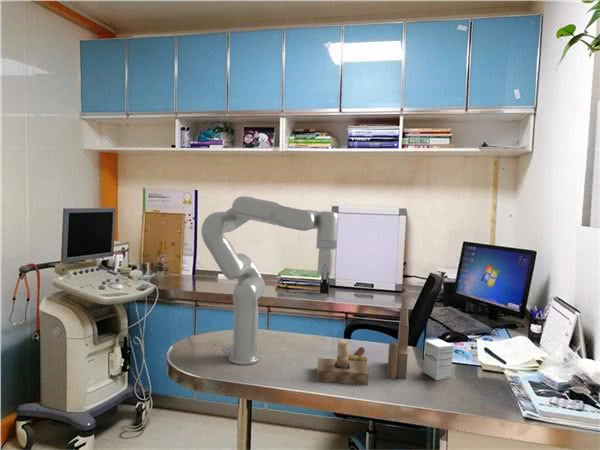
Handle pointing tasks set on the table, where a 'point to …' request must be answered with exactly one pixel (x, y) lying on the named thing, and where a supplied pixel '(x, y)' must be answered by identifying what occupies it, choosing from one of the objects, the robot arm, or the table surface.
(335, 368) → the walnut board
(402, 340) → the wooden toy
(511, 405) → the table surface
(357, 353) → the gavel
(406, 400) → the table surface
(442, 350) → the supplement box
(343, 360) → the wooden pepper mill
